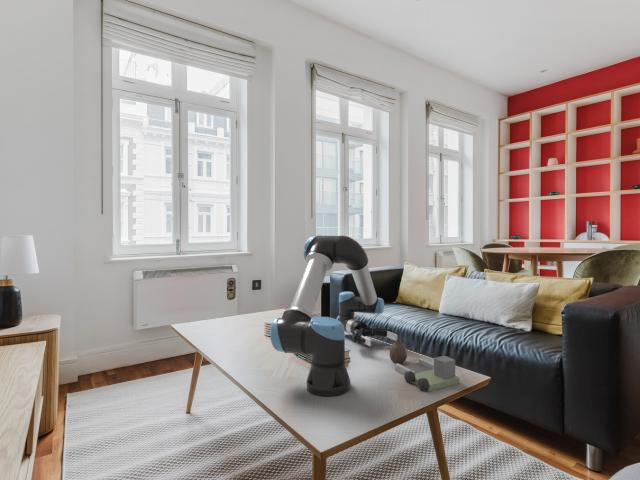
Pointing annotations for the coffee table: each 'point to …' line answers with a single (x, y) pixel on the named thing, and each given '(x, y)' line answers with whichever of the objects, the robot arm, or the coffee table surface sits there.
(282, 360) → the coffee table surface
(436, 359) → the toy truck
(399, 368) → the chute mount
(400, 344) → the vase
